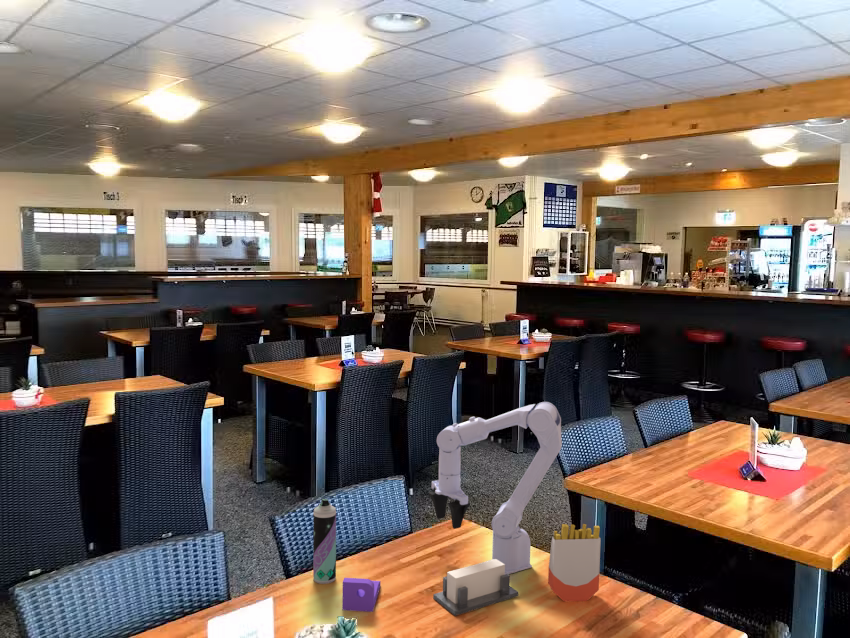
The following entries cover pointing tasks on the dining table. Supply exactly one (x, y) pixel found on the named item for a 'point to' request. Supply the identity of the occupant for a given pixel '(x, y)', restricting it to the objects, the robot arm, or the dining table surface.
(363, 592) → the bracket
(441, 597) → the grey tray
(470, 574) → the block
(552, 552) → the french fries container
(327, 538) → the spray can
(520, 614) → the dining table surface
